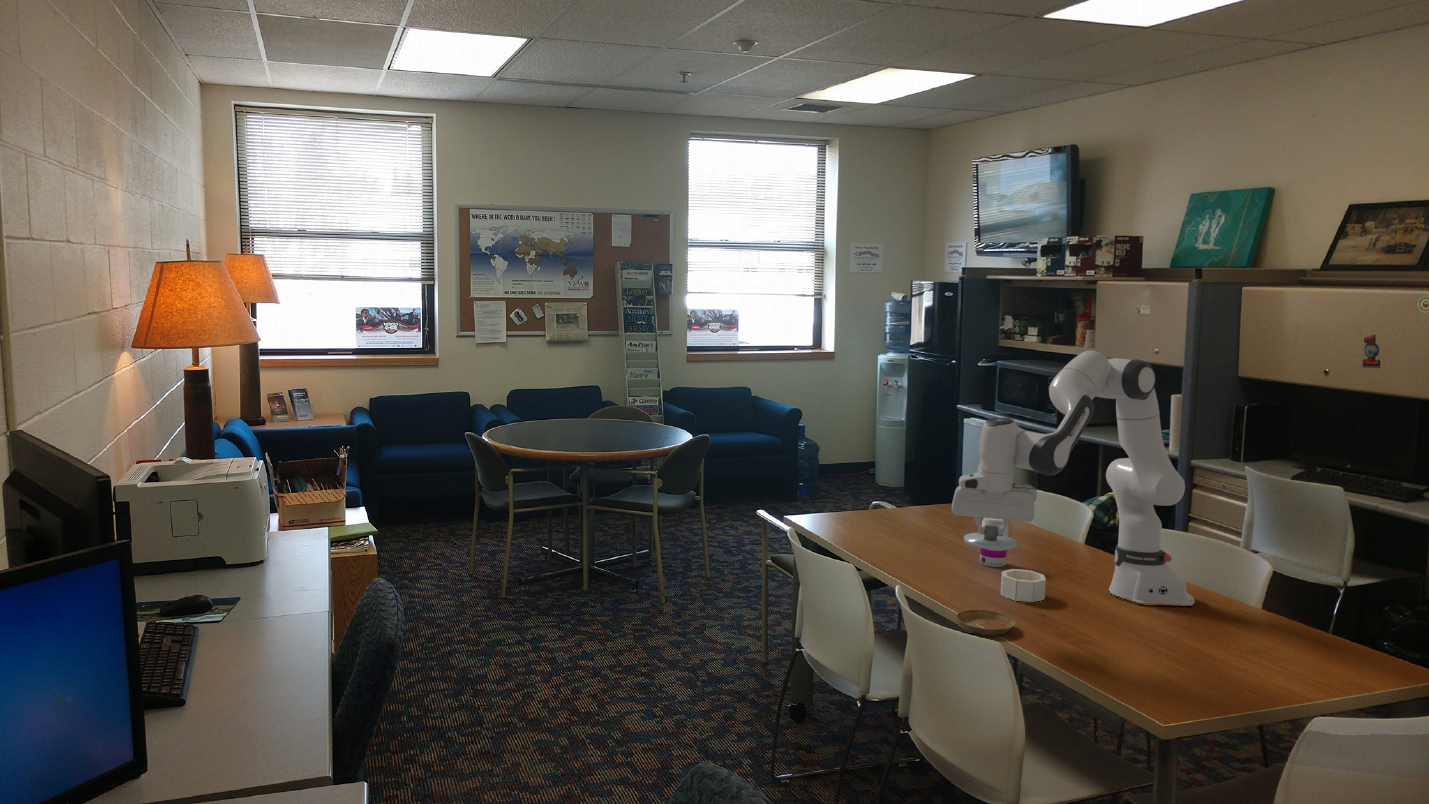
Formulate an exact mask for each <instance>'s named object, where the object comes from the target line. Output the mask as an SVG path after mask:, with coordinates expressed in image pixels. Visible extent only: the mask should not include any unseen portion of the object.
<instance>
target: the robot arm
mask: <svg viewBox="0 0 1429 804" xmlns="http://www.w3.org/2000/svg"><path fill="white" fill-rule="evenodd" d="M1156 381H1157V377H1156V371H1155V370H1154V369H1153V367H1152V365H1151V364H1150V363H1149V362H1147V361H1144V360H1140V359H1136V358H1135V359H1129V358H1122V357H1121V358H1119V357H1118V358H1117V357H1113V358H1107V356H1105V355H1104V354H1103V353H1101V352H1099V351H1096V350H1092V349H1091V350H1085V351H1083V352H1081V353H1079V354H1078V355H1077V356H1075V357H1073V358H1072V359H1071V360H1070V361H1068V363H1067V364H1066V365H1064V367H1062V369H1061V370H1060V371H1059V372H1058V373H1057V374H1056V375H1055V377H1053V379H1052V381H1051V382H1050V384H1049V386H1048V394H1049V395H1048V396H1049V399H1050V401H1051V403H1052V404H1053V406H1054V407H1055V408H1056V409H1057V410H1058V411H1059V412H1060V413H1061V414H1062V415H1065V416H1064V418H1063V419H1062V421H1061V422H1060V424H1059V426H1058V427H1057V429H1056V430H1055V431H1054V432H1051V433H1040V432H1035V431H1030V430H1025V429H1023V428H1021V427H1020V426H1018V425H1017V424H1016V422H1015V420H1014V419H1012V418H1009V417H1004V416H1003V417H1002V416H1001V417H991V418H990V419H989V418H988V419H987V420H986V421H984V423H983V426H982V430H981V433H980V437H979V438H980V439H979V445H978V447H979V448H978V454H979V464H978V466H977V472H974V473H968V474H963V475H961V476H960V477H959V479H958V484H959V485H958V486H957V487H956V488H955V491H954V494H953V499H952V504H951V512H952V514H953V515H955V516H960V517H961V516H962V517H973V518H974V521H975V523H976V526H977V527H978V531H977V533H978V534H980V535H985V532H984V531H985V527H982V524H981V523H980V522H982V518H983V519H984V518H993V519H1003V523H1004V524H1003V526H1002V527H1001V528H998V531H997V536H1002V537H1003V533H1004V530H1005V529H1006V527H1007V526H1008V525H1009V526H1010V521H1017V522H1026V523H1027V522H1028V523H1031V522H1032V521H1033V520H1034V519H1035V504H1034V503H1035V502H1036V500H1038V499H1037V497H1038V491H1037V489H1036V487H1034V486H1032V485H1031V484H1022V483H1015V482H1014V476H1015V469H1014V467H1016V468H1020V469H1025V470H1028V471H1029V470H1030V471H1033V472H1036V473H1039V474H1041V475H1045V476H1047V477H1049V476H1050V477H1051V476H1055V475H1057V474H1059V473H1060V472H1061V471H1062V470H1064V469H1065V468H1066V466H1067V464H1068V462H1069V460H1070V457H1071V453H1072V451H1073V449H1074V447H1075V445H1076V444H1077V443H1078V441H1079V439H1080V438H1081V435H1082V434H1083V432H1084V431H1085V429H1086V428H1087V426H1088V424H1089V422H1090V421H1091V418H1092V416H1093V413H1094V408H1095V406H1094V401H1093V400H1094V398H1095V397H1097V398H1102V399H1110V400H1111V399H1112V400H1115V412H1116V422H1117V433H1118V442H1119V445H1120V447H1121V448H1122V449H1123V450H1124V452H1125V453H1126V454H1127V456H1128V457H1125V458H1124V457H1123V458H1121V457H1120V458H1117V459H1114V460H1113V461H1111V462H1110V463H1109V465H1108V466H1107V469H1106V472H1105V478H1106V479H1105V480H1106V482H1107V484H1108V486H1109V487H1110V489H1111V490H1112V492H1113V495H1114V499H1115V502H1116V506H1117V511H1118V521H1119V523H1118V524H1119V525H1118V541H1117V544H1116V546H1115V549H1114V564H1115V566H1114V571H1113V576H1112V579H1111V583H1110V584H1109V585H1110V586H1109V588H1108V590H1109V591H1110V593H1112V594H1114V595H1116V596H1120V597H1122V598H1127V599H1130V600H1132V601H1136V602H1138V603H1166V604H1168V603H1169V604H1181V605H1192V604H1193V603H1195V598H1194V596H1192V595H1191V594H1190V593H1188V592H1187V585H1186V582H1185V579H1184V577H1182V576H1181V575H1180V574H1179V573H1178V572H1177V571H1176V570H1174V569H1173V568H1172V566H1170V565H1169V564H1167V563H1170V562H1171V561H1172V558H1173V556H1171V555H1170V554H1169V553H1167V552H1166V551H1164V550H1163V549H1161V541H1162V540H1161V539H1162V530H1163V529H1162V527H1163V526H1162V521H1161V519H1160V517H1159V516H1158V514H1157V513H1156V510H1155V507H1154V506H1165V507H1166V506H1173V505H1176V504H1177V503H1179V502H1180V501H1181V500H1182V498H1183V496H1184V494H1185V491H1186V483H1185V480H1184V478H1183V477H1182V476H1181V474H1180V473H1179V472H1178V471H1177V469H1175V467H1174V465H1173V464H1172V461H1171V459H1170V457H1169V455H1168V452H1167V450H1166V447H1165V445H1164V441H1163V435H1162V428H1161V427H1162V426H1161V418H1160V417H1161V416H1160V408H1159V402H1158V398H1157V393H1156V389H1155V386H1156ZM1110 593H1109V594H1110ZM1145 601H1146V602H1145ZM1195 604H1196V603H1195Z"/></svg>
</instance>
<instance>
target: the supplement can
mask: <svg viewBox="0 0 1429 804" xmlns="http://www.w3.org/2000/svg"><path fill="white" fill-rule="evenodd" d="M986 524H991V525H996V526H998V528H1001V527H1002V526H1003V524H1004V523H1003V519H993V518H983V519H982V520H981V527H985V525H986ZM1009 530H1010V524H1009V525H1008V526H1007V527H1006V529H1005V530H1004V533H1003V536H1007V537H1009V534H1010V533H1009V532H1010V531H1009ZM979 549H980V550H979V562H980V564H982V566H986V567H989V566H991V568H1002V566H1003V567H1005V566H1006V565H1007V563H1008V561H1007V560H1008V550H991V549H984V548H979Z"/></svg>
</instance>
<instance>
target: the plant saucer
mask: <svg viewBox="0 0 1429 804" xmlns="http://www.w3.org/2000/svg"><path fill="white" fill-rule="evenodd" d="M955 618H956V620H957V622H958V623H959V625H961V626H962V628H964V630H967V631H969V632H971V633H973V634H977V635H983V636H999V635H998V634H1001V635H1004V634H1007V632H1009V631H1010V630H1012V628H1014V627H1015V626H1016V620H1015V619H1014V618H1012V616H1010V615H1007V614H1005V613H1002V612H997V611H995V610H986V609H967V610H961V611H959V612H958V613H956V614H955ZM976 619H982V620H983V619H984V620H992V621H994V622H999V623H1001V624H1004V625H1005V626H1007V628H1004V629H986V628H980V627H979V625H975V624H985V623H983V622H986V621H978V620H976ZM980 622H982V623H980ZM1003 633H1004V634H1003Z"/></svg>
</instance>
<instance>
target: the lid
mask: <svg viewBox="0 0 1429 804" xmlns="http://www.w3.org/2000/svg"><path fill="white" fill-rule="evenodd" d="M997 531H998V526H996V525H991V524H986V525H985V531H984V532H985V535H980V534H978V532H971V533H967V534H965V535H964V536H963V541H964V543H965V544H967V545H969V546H972V547H976V548H979V549H980V548H984V549H991V550H1007V551H1010V550H1014V549H1016V548H1017V546H1018V541H1017V540H1016V539H1014V538H1012V537H1010V536H1008V537H1007V536H1003V537H1002V536H997Z"/></svg>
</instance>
